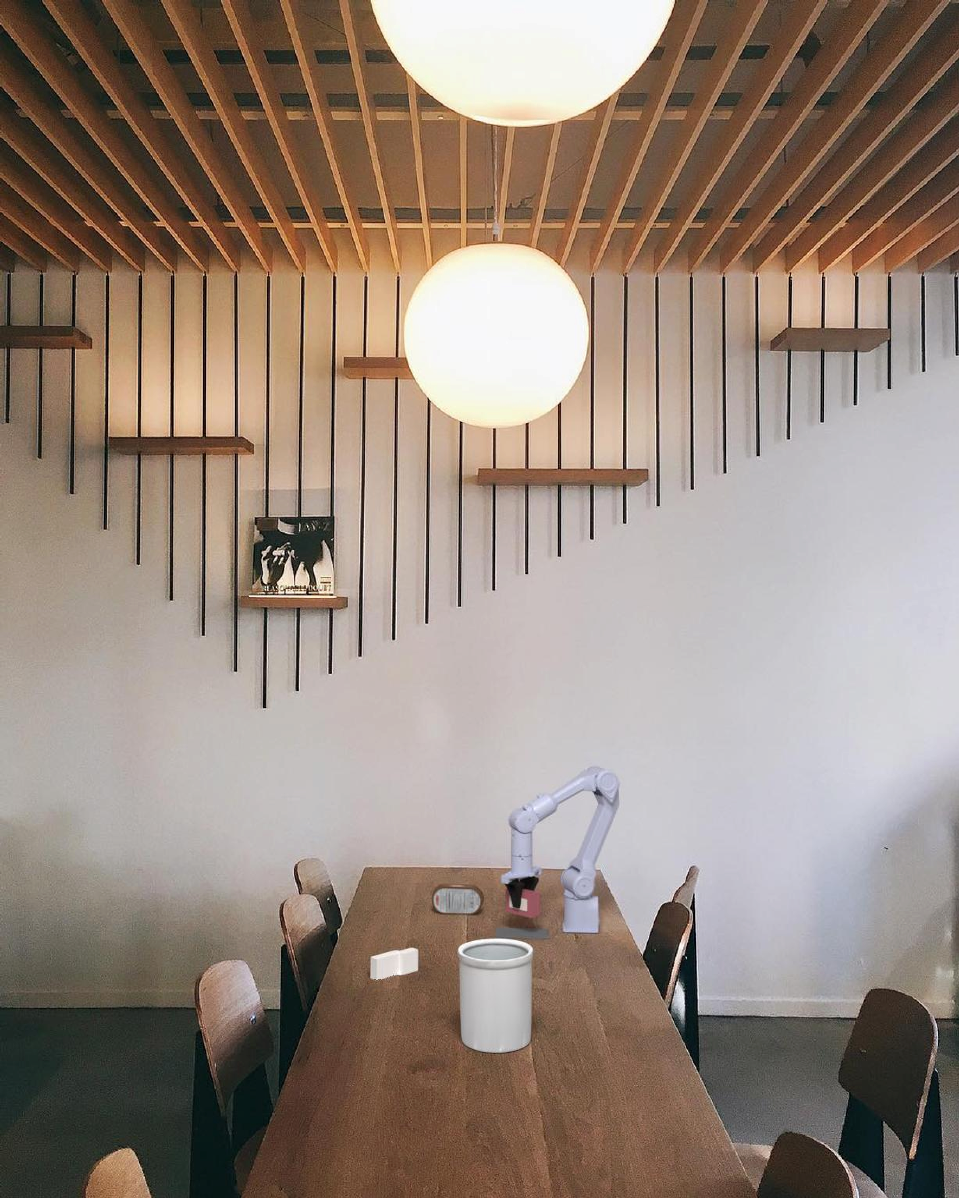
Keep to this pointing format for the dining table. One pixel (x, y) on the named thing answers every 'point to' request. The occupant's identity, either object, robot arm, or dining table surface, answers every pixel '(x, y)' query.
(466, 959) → the utensil holder
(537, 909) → the box
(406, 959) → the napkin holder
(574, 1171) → the dining table surface
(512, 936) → the mat
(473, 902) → the tin
